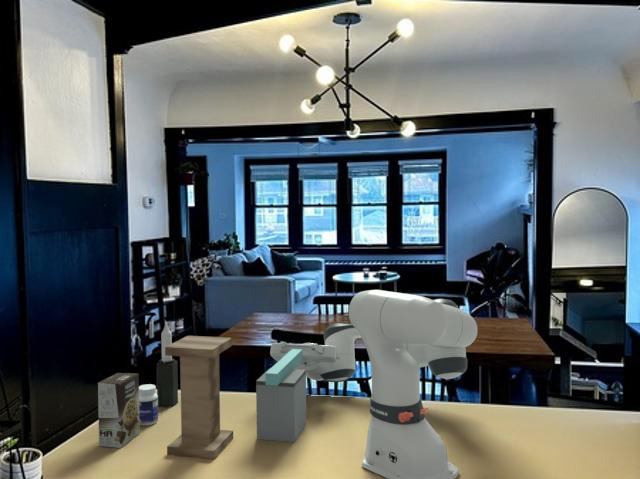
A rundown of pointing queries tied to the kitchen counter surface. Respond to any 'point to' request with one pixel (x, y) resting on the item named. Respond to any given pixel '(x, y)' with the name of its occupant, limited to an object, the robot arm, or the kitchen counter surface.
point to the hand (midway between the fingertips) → (298, 345)
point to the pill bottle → (148, 405)
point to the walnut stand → (199, 397)
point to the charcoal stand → (281, 407)
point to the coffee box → (118, 409)
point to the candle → (167, 374)
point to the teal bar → (283, 367)
